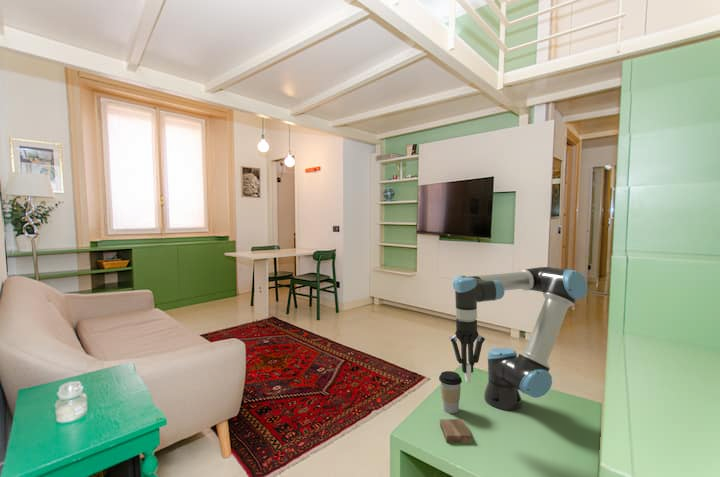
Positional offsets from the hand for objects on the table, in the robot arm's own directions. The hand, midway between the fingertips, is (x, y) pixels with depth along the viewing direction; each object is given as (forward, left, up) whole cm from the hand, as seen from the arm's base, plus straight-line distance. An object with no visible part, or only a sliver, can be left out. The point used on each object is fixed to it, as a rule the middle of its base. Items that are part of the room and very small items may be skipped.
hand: (467, 380), depth 121 cm
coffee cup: (+2, -15, -20) cm, 25 cm away
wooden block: (+1, +1, -19) cm, 19 cm away
